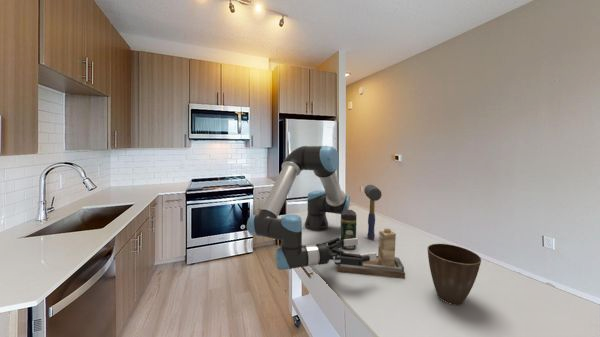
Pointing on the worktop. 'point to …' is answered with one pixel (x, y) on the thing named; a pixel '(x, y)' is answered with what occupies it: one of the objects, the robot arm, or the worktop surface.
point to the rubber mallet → (372, 207)
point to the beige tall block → (386, 248)
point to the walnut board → (375, 268)
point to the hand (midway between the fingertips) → (366, 248)
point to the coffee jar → (348, 226)
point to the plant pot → (453, 271)
